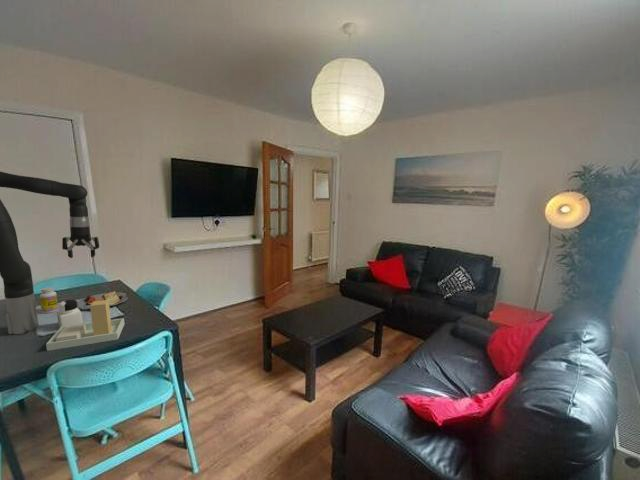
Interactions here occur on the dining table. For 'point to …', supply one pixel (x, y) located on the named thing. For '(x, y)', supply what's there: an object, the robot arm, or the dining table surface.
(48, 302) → the supplement bottle
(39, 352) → the dining table surface
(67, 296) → the dining table surface
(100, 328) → the juice carton
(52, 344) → the tray
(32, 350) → the dining table surface
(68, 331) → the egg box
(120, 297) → the food plate
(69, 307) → the container
